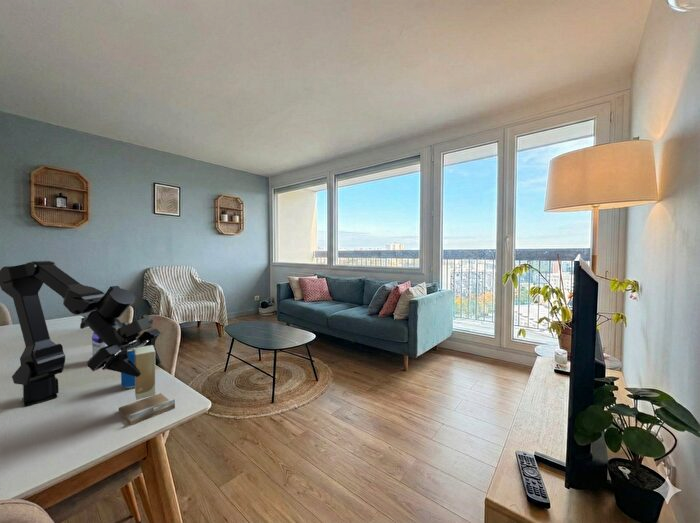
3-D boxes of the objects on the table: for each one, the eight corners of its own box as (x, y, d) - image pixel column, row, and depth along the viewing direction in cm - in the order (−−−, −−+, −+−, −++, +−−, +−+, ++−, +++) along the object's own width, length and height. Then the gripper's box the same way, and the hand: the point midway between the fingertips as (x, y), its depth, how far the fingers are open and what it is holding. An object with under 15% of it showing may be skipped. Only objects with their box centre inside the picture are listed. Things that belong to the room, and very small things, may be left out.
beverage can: (133, 390, 89) (132, 352, 88) (116, 388, 90) (115, 350, 89) (151, 381, 95) (150, 345, 95) (135, 379, 96) (134, 343, 96)
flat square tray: (131, 425, 71) (130, 416, 71) (118, 411, 77) (118, 402, 77) (175, 408, 79) (175, 399, 79) (160, 396, 85) (160, 388, 85)
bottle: (89, 362, 111) (87, 317, 110) (106, 357, 116) (105, 314, 115) (100, 365, 108) (99, 319, 107) (117, 359, 113) (116, 316, 112)
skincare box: (134, 391, 79) (134, 347, 79) (153, 386, 82) (153, 344, 82) (135, 400, 74) (135, 354, 74) (156, 395, 77) (155, 350, 77)
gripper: (98, 315, 68) (144, 363, 68) (154, 301, 87) (190, 338, 87) (66, 347, 69) (112, 394, 69) (129, 326, 87) (165, 363, 87)
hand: (149, 369), depth 78 cm, fingers closed on skincare box, 7 cm apart
